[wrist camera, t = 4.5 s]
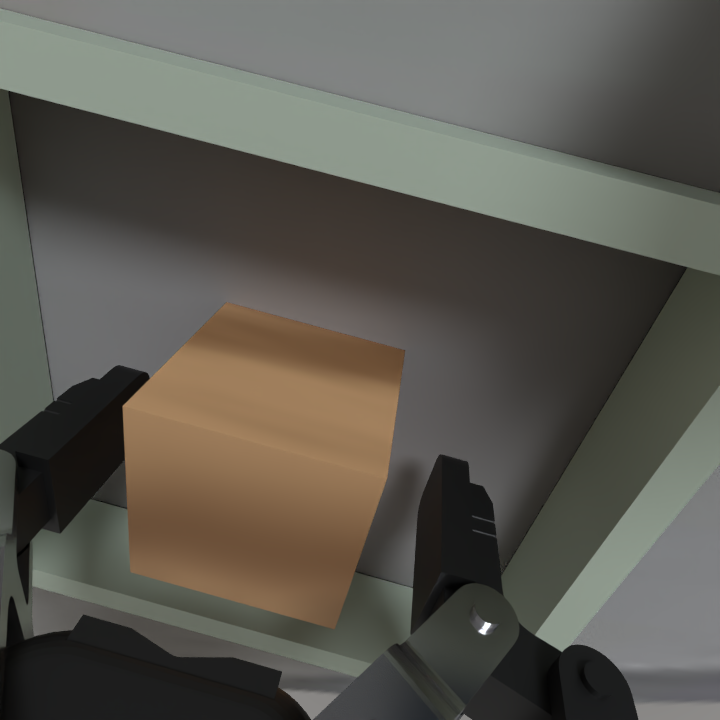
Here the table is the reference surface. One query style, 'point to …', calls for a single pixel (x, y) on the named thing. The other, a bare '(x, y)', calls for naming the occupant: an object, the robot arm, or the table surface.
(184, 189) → the table surface
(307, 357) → the cube
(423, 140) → the pale green shallow tray
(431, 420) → the table surface
